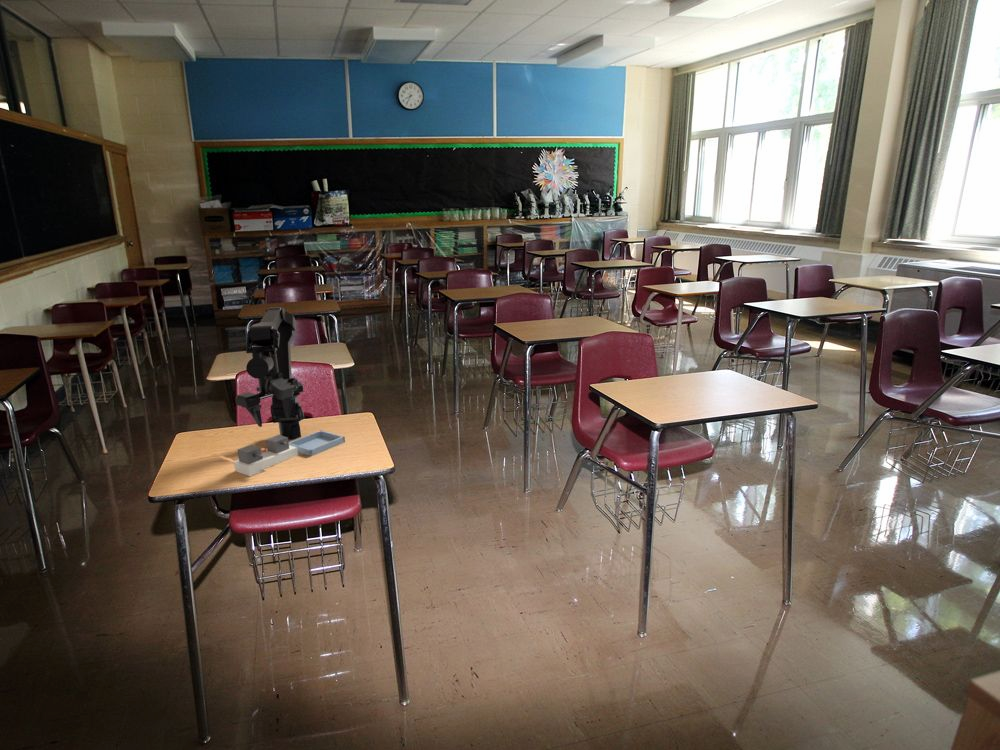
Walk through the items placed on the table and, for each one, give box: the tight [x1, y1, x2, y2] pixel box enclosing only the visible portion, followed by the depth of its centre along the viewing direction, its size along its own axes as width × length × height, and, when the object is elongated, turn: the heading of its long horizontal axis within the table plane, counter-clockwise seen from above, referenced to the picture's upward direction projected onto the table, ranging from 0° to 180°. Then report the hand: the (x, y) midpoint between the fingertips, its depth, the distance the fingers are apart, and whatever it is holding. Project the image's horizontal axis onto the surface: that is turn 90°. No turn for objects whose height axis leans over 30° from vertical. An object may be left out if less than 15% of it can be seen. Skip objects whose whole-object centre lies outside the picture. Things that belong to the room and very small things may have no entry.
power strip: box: [233, 444, 299, 477], centre depth 178 cm, size 9×16×6 cm, turn 145°
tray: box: [288, 429, 346, 457], centre depth 190 cm, size 11×13×2 cm
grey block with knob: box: [265, 434, 290, 454], centre depth 181 cm, size 6×4×6 cm
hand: (274, 421), depth 179 cm, fingers open, 9 cm apart
